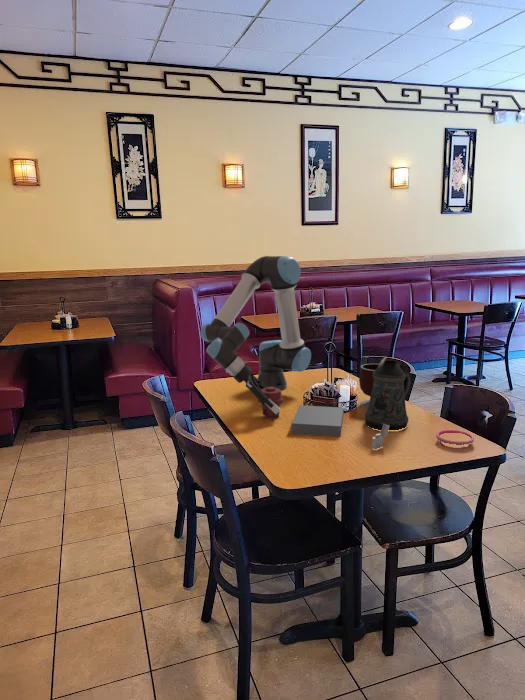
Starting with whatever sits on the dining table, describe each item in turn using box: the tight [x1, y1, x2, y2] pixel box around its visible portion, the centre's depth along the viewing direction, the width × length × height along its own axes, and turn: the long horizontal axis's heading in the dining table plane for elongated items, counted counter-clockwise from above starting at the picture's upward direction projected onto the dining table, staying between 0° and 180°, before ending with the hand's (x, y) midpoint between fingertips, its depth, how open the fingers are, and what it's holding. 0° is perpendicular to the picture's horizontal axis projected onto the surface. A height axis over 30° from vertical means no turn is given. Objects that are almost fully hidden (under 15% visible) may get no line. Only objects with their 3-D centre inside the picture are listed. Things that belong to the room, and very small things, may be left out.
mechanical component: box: [257, 387, 284, 420], centre depth 208 cm, size 12×10×10 cm
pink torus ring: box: [435, 429, 475, 445], centre depth 180 cm, size 12×12×3 cm
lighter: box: [371, 424, 390, 449], centre depth 176 cm, size 7×2×8 cm, turn 127°
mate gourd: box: [358, 356, 387, 409], centre depth 222 cm, size 16×14×20 cm
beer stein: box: [364, 360, 411, 430], centre depth 198 cm, size 16×19×25 cm
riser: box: [291, 404, 345, 438], centre depth 199 cm, size 22×18×4 cm
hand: (278, 407), depth 209 cm, fingers closed on mechanical component, 10 cm apart
